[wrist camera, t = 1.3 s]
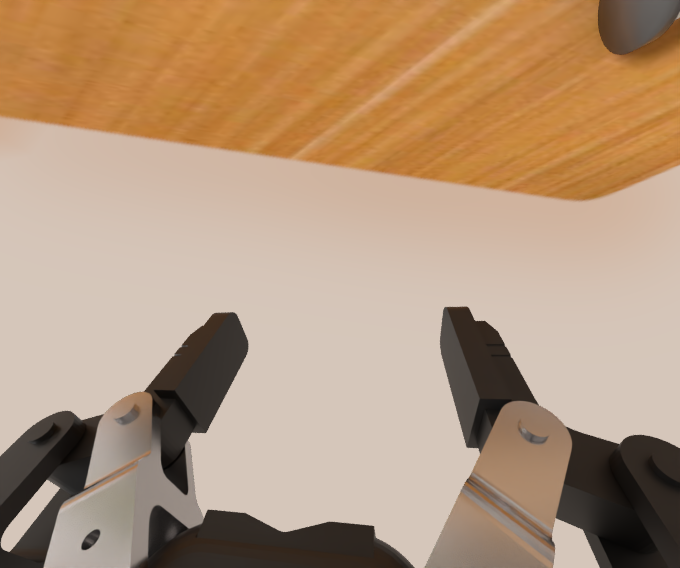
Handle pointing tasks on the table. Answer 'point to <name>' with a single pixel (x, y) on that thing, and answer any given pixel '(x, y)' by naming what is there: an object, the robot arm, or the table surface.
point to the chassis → (634, 22)
